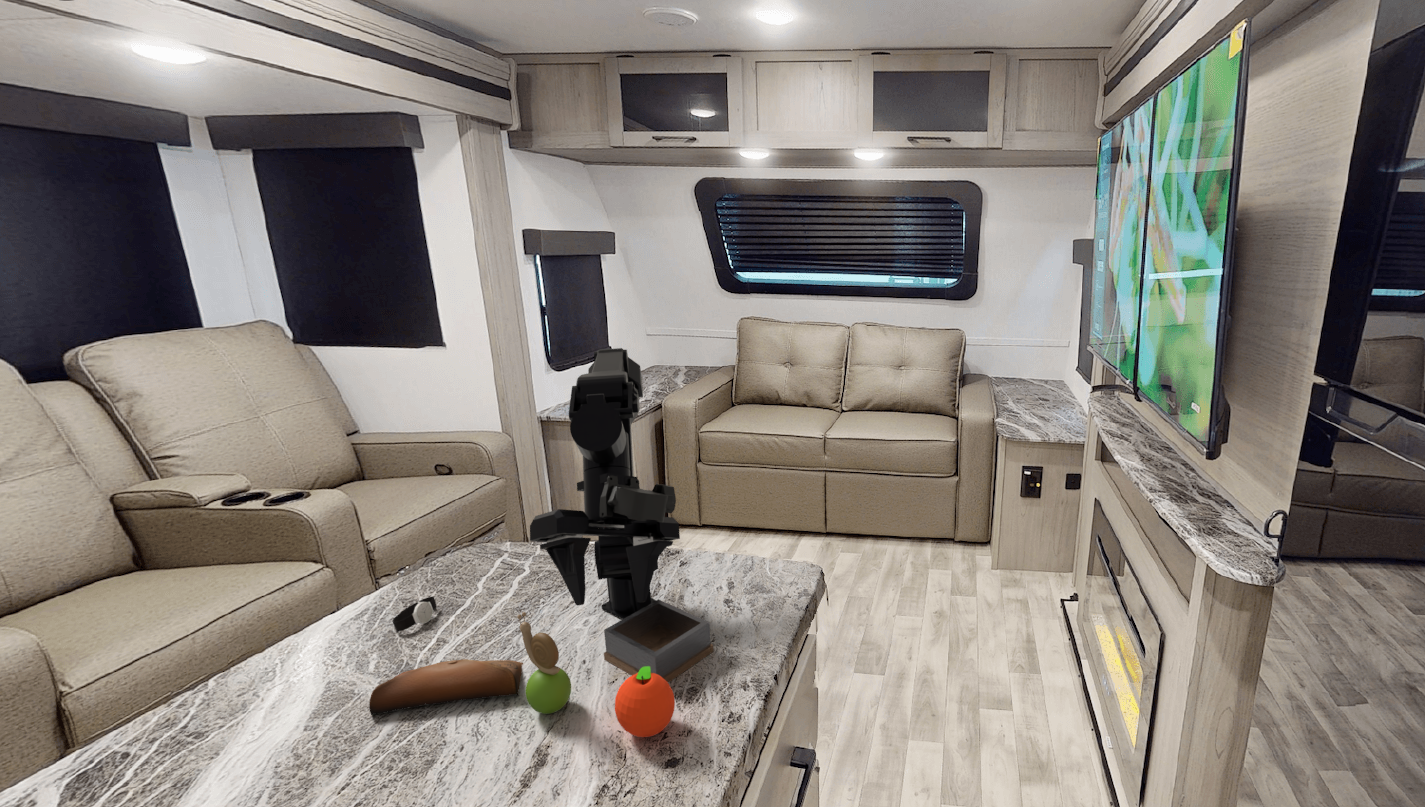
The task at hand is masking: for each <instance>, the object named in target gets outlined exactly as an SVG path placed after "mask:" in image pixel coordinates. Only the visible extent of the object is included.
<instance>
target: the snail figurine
mask: <svg viewBox="0 0 1425 807" xmlns="http://www.w3.org/2000/svg"><path fill="white" fill-rule="evenodd" d="M526 615H527V612H525V611H522V612H521V614H520V613H519V614H517V618H516V619H519V623H520V624H519V625H520V626H519V631H520V633H521V634H522V641H523V645H524V648H525V651H526V653H527V656H528V658H529V660H530V661H531V663H532V664H533V665H534V666H535V668H537V669H536V670H535V671H534V672H533V673H532V674H531V675H530V677H529V678H528V680H527V682H526V685H525V698H526V701H527V704H528V706H530V707H531V708H532V709H533V710H534V711H535V712H537V713H539V714H545V715H546V714H547V715H549V714H553V713H556V712H559V711H560V710H561V709H562V708H563V707H564V706H565V705H566V704H567V702H568V701H569V700H570V697H571V692H572V682H571V679H570V676H569V675H568V674H567V672H566V671H565V670H564V669H562V668H561V667H559V666H557V664H558V662H559V657H560V652H559V648H558V645H557V643H556V642H555V640H554V639H553V638H552V636H550V635H549V634H548V633H546V632H538V633H537V632H536V634H534V635H533V634H532V625H531V623H529V622H528V621H526V619H525V618H526ZM522 617H523V622H521V619H522Z"/></svg>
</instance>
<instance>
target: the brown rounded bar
mask: <svg viewBox="0 0 1425 807" xmlns="http://www.w3.org/2000/svg"><path fill="white" fill-rule="evenodd" d="M523 664H524V662H520V661H516V660H511V659H510V660H508V659H506V660H505V659H503V660H501V659H495V660H493V659H492V660H475V659H468V658H462V659H458V660H455V659H453V660H446V661H440V662H436V663H433V664H429V665H426V666H422V667H417V668H415V669H414V668H413V669H410V670H407V671H406V670H405V671H403V672H401V673H399V674H397V675H395V676H394V677H392V678H391V679H389V680H386V681H385V682H383V683H381V684H379V685H376V687H375V688H374V689H373V691H372V692H371V695H370V698H369V707H368V708H369V709H368V710H369V714H370V715H371V716H373V715H380V714H381V715H382V714H384V713H390V712H391V713H392V712H396V711H397V712H398V711H402V710H403V711H404V710H407V709H408V708H409V709H411V708H417V707H423V706H425V705H430V706H431V705H438V704H439V705H440V704H447V703H454V702H459V701H460V702H461V701H471V700H472V701H473V700H478V699H479V700H481V699H486V698H496V697H503V696H513V695H516V696H519V693H520V686H521V680H522V673H523Z"/></svg>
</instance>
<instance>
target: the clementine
mask: <svg viewBox="0 0 1425 807" xmlns="http://www.w3.org/2000/svg"><path fill="white" fill-rule="evenodd" d="M675 699H676V698H675V694H674V691H673V689H672V687H671V685H670V683H668V682H667V681H666V680H665V679H664V678H662V677H661V676H660V675H658V674H655V673H651V669H650V666H645V667H642V668H641V669H640V670H639V672H638V673H637V674H635V675H630V676H629V677H627V678H626V679H625V680H624V681H623V683H621V685H620V686H619V688H618V690H617V693H616V695H615V700H614V711H615V717H616V718H617V721H618V723H619V725H620V726H621V728H623V730H624V731H625V732H627V733H629V735H632V736H634V737H638V738H649V737H653V736H655V735H657V734H659V733H661V732H662V731H663V730H664V729H665V728H666V727H667V726H668V725H669V723H670V722H671V720H672V717H673V715H674V712H675V708H676V707H675V706H676V705H675V702H676V701H675Z"/></svg>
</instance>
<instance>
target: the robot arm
mask: <svg viewBox="0 0 1425 807" xmlns="http://www.w3.org/2000/svg"><path fill="white" fill-rule="evenodd" d="M593 361H594V362H592V364H591V365H590V366H589V367H588V371H587V372H588V373H584V374H580V375H579V376H578V377H577V378H576V385H572V386H571V393H570V400H569V406H568V419H569V421H570V424H569V430H570V435H571V437H572V439H573V442H574V443H575V446H576V447H577V449H578V450H579V452H580V454H581V455H582V472H583V473H582V475H583V476H582V477H583V480H581V481H578V482H576V491H577V492H583V508H584V510H578V509H577V510H575V509H563V508H561V509H560V508H559V509H555V510H551V511H548V512H545V513H540V514H537V515H535V517H534V518H533V520H532V522H531V523H530V525H529V541H530V542H535V543H537V542H538V543H539V542H540V543H541V542H543V543H541V544H539V548H540V550H545V551H546V552H547V554H548V556H549V557H550V558H551V560H552V562H553V563H554V565H555V567H556V569H557V570H558V572H559V574H560V576H561V578H562V580H563V582H564V583H565V586H566V588H567V590H568V592H569V594H570V596H571V598H572V600H573V602H574V604H575V606H583V605H584V604H585V600H586V567H585V566H586V564H585V561H586V560H585V555H586V552H587V550H588V547H589V545H590V542H591V541H592V540H591V539H592V537H597V538H598V540H594V545H593V547H594V548H593V550H594V561H595V568H596V573H597V580H600V581H601V580H603V579H605V580H606V583H607V594H608V601H607V602H604V603H602V604H601V610H603V611H605V612H608V613H609V614H611V615H613V616H615V617H617V618H620V619H621V620H623V619H624V618H626V617H628V616H630V615H631V614H633V613H635V612H637V611H639V610H640V609H642V608H644V607H646V606H647V605H649V604H651V603H653V602H655V601H656V600H657V599H654V598H652V596H651V585H652V584H651V583H652V580H653V576H654V574H655V572H656V571H657V570H658V569H659V562H658V560H659V558H660V555H661V554H662V553H663V552H664V551H665V549H667V547H668V548H669V547H672V546H673V544H674V541H675V540H676V541H677V540H680V539H681V536H680V535H681V534H680V523H679V522H678V521H677V520H676V519H675V518H674V517H673V516H672V517H671V516H666V514H672V513H673V512H674V511H675V509H676V503H677V497H676V492H675V486H671V485H667V484H659V483H657V484H655V485H654V486H653V489H651V490H648V489H644V488H641V487H640V480H639V479H638V476H635V475H634V458H633V457H634V456H633V454H634V453H633V437H632V435H633V434H632V425H633V422H634V421H635V419H636V418H637V416H638V414H639V413H640V411H641V409H640V408H641V406H640V398H643V397H644V390H643V388H644V387H643V378H642V377H643V376H642V371H641V365H640V364H639V363H637V362H636V361H634V360H633V359H632V358H630V356H629V355H628V349H624V348H622V347H617V348H605V349H602V348H601V349H598V350H597V351H594V352H593ZM583 536H586V537H583ZM589 536H592V537H589Z"/></svg>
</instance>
